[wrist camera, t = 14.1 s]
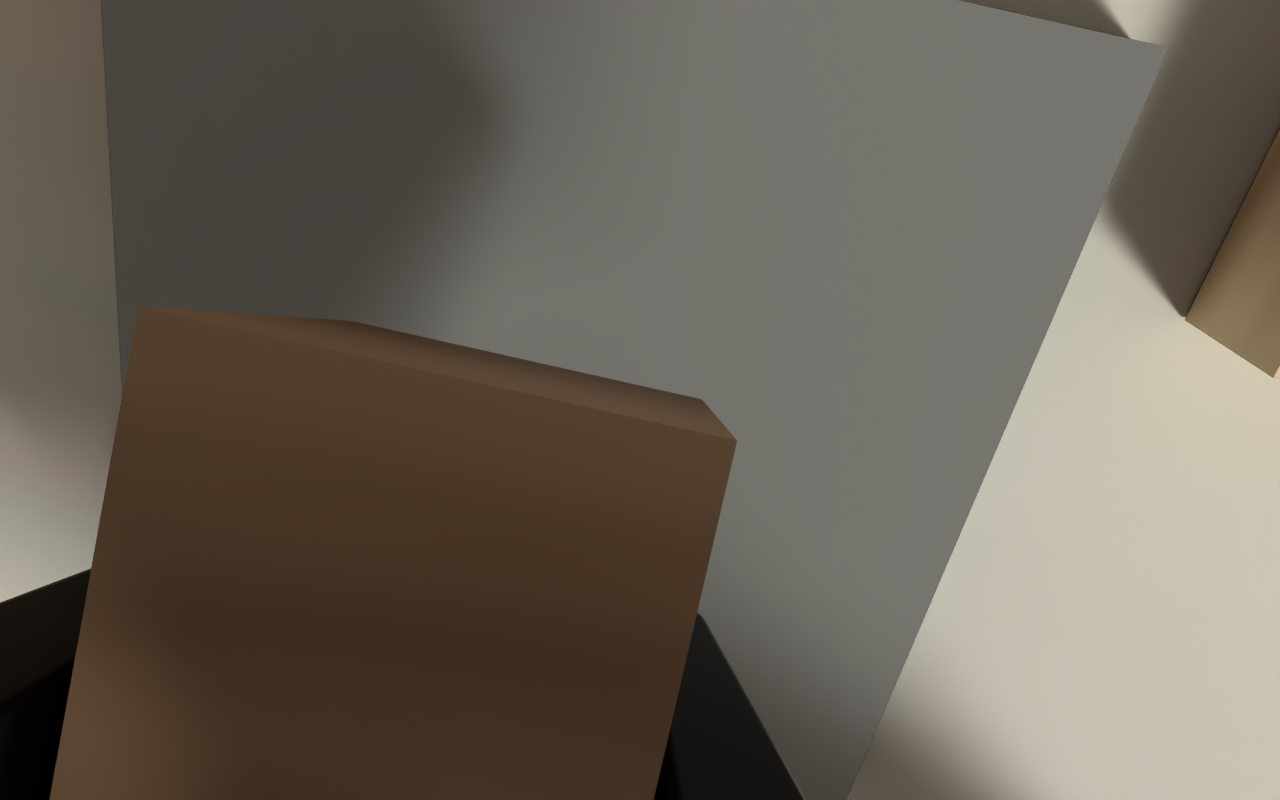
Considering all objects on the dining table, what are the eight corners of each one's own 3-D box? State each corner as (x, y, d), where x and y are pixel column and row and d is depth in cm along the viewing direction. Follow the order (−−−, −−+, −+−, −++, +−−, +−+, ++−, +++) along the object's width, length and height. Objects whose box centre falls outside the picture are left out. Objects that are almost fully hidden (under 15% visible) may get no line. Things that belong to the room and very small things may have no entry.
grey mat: (835, 772, 15) (841, 810, 14) (164, 622, 15) (136, 653, 14) (1136, 45, 10) (1168, 48, 9) (135, -182, 10) (90, -196, 9)
